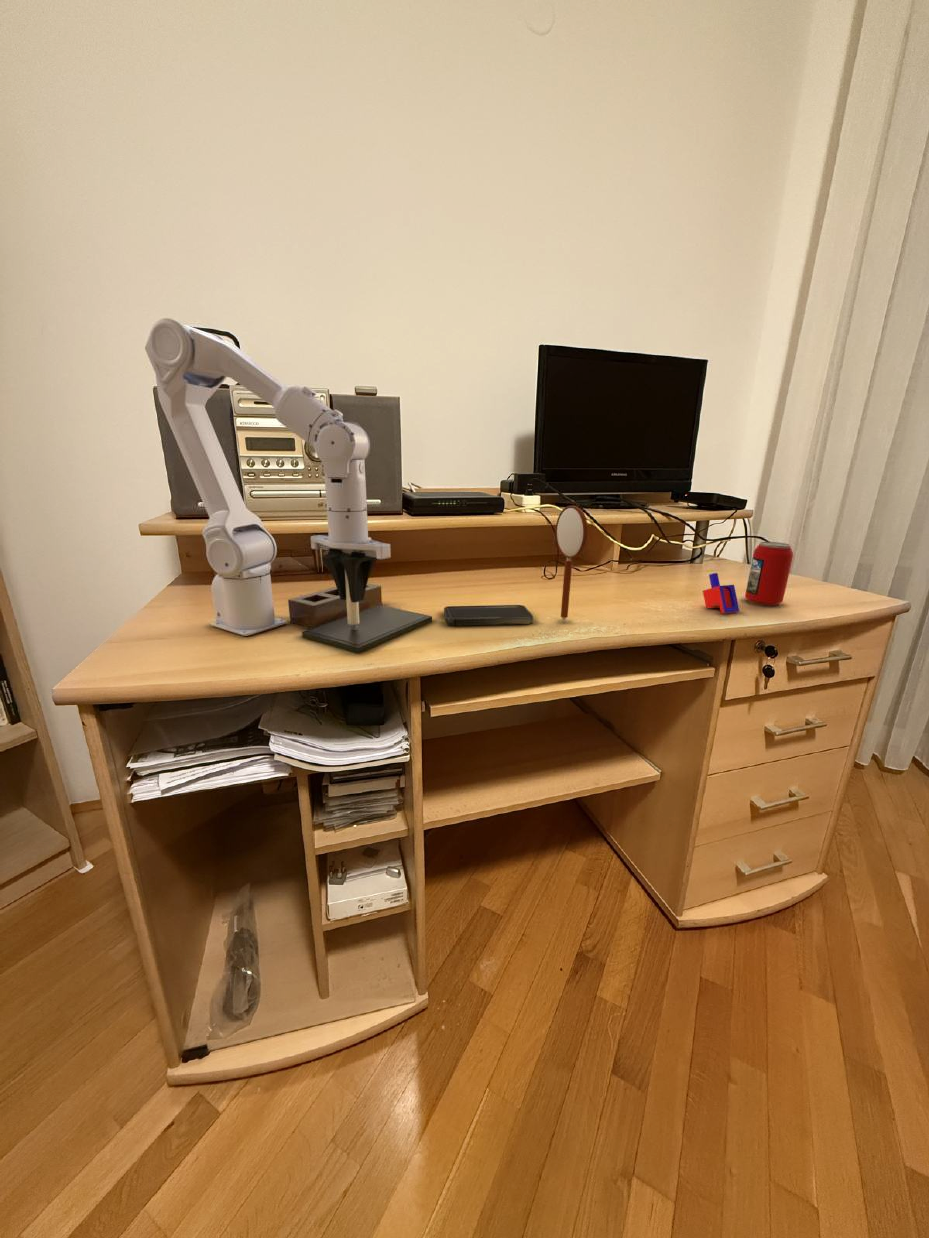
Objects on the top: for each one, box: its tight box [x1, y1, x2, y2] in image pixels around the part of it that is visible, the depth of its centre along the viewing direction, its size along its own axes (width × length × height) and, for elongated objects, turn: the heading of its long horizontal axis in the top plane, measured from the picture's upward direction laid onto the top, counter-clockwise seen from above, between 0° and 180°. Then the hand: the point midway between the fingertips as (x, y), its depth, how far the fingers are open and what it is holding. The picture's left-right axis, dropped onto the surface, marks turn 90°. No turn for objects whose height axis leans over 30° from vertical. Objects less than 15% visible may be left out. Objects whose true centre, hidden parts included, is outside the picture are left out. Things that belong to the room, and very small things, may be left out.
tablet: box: [301, 604, 433, 655], centre depth 80 cm, size 12×18×1 cm, turn 148°
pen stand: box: [287, 582, 383, 629], centre depth 88 cm, size 6×16×4 cm, turn 148°
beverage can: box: [744, 541, 794, 607], centre depth 98 cm, size 7×7×12 cm
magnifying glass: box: [555, 505, 589, 623], centre depth 83 cm, size 9×2×20 cm, turn 21°
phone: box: [443, 604, 534, 627], centre depth 87 cm, size 8×1×15 cm
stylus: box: [345, 571, 359, 630], centre depth 75 cm, size 2×2×11 cm
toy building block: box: [702, 572, 740, 615], centre depth 94 cm, size 4×4×8 cm
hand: (352, 599), depth 76 cm, fingers closed on stylus, 2 cm apart
